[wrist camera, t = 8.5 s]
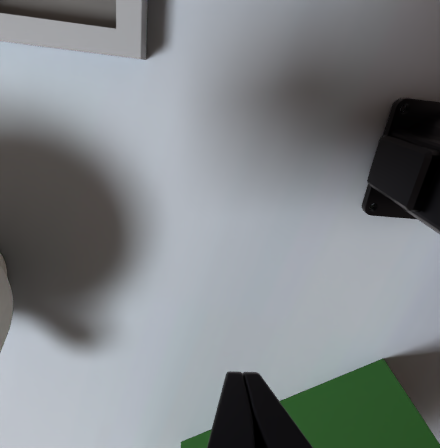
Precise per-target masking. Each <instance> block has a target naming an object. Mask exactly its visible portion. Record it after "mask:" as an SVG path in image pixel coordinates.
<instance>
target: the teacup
mask: <svg viewBox="0 0 440 448" xmlns="http://www.w3.org/2000/svg"><path fill="white" fill-rule="evenodd" d="M12 315H13V296H12V290H11V287H10V284H9V281H8V278H7V268H6V264H5V261H4V259H3V257H2V255H1V253H0V352H1V350H2V347H3V345H4V342H5V339H6V337H7V334H8V331H9V329H10V325H11V320H12Z"/></svg>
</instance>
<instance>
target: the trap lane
mask: <svg viewBox="0 0 440 448" xmlns="http://www.w3.org/2000/svg"><path fill="white" fill-rule="evenodd" d="M147 5H148V0H0V41H3V42H11V43H19V44H27V45H35V46H42V47H50V48H58V49H66V50H74V51H82V52H89V53H97V54H105V55H113V56H121V57H129V58H136V59H144V60H146V46H147Z"/></svg>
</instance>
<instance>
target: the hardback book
mask: <svg viewBox="0 0 440 448" xmlns="http://www.w3.org/2000/svg"><path fill="white" fill-rule="evenodd" d="M279 402H280V403H281V404H282V406H283V407H284V408H285V410H286V411H287V413H288V414H289V415H290V417H291V418H292V419H293V421H294V422H295V424H296V425H297V426H298V428H299V429H300V430H301V432H302V433H303V434H304V436H305V437H306V439H307V440H308V441H309V443H310V444H311V445H312V447H313V448H440V444H439V443H438V441H437V439H436V438H435V436H434V435H433V433H432V432H431V430H430V429H429V427H428V426H427V424H426V423H425V421H424V420H423V418H422V417H421V415H420V414H419V412H418V411H417V409H416V408H415V406H414V405H413V403H412V401H411V400H410V398H409V397H408V395H407V394H406V392H405V391H404V389H403V388H402V386H401V385H400V383H399V382H398V380H397V379H396V377H395V376H394V374H393V373H392V371H391V370H390V368H389V367H388V365H387V363H386V362H385V360H384V359H381V360H378V361H376V362H374V363H371V364H369V365H366V366H364V367H361V368H359V369H357V370H354V371H352V372H349V373H347V374H345V375H342V376H340V377H337V378H335V379H332V380H330V381H328V382H325V383H323V384H320V385H318V386H315V387H313V388H311V389H308V390H306V391H303V392H301V393H298V394H296V395H294V396H291V397H289V398H286V399H284V400H282V401H279ZM211 430H212V429H211ZM211 430H209V431H206V432H204V433H202V434H199V435H197V436H194V437H192V438H189V439H187V440H185V441H182V442H181V448H207V446H208V442H209V438H210V434H211Z"/></svg>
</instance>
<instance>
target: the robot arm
mask: <svg viewBox="0 0 440 448" xmlns="http://www.w3.org/2000/svg"><path fill="white" fill-rule="evenodd" d="M404 104H405V106H406V108H405V110H404V111H403V112H402V113H401V111H400V109H401V107H402V105H404ZM367 181H368V183H369V184H368V187H367V190H366V194H365V197H364V200H363V203H362V209H363V211H364V212H366V213H367V214H368V215H373V216H385V217H397V218H410V219H418V220H420V221H421V222H423V223H424V224H425V225H427V226H428V227H430V228H431V229H433V230H434V231H436V232H437V233H439V234H440V102H432V101H424V100H416V99H408V98H400V99H398V100H396V102H395V103H394V104H393V106H392V109H391V112H390V115H389V118H388V122H387V125H386V128H385V132H384V135H383V137H382V138H381V139H380V141H379V144H378V147H377V151H376V154H375V157H374V160H373V164H372V167H371V170H370V174H369V177H368V180H367ZM371 204H374V207H373V208H371V209H369V207H370V205H371ZM207 448H313V447H312V445H311V444H310V443H309V441H308V440H307V439H306V437H305V436H304V434H303V433H302V432H301V430H300V429H299V428H298V426H297V425H296V424H295V422H294V421H293V419H292V418H291V417H290V415H289V414H288V413H287V411H286V410H285V408H284V407H283V406H282V404H281V403H280V402H279V400H278V399H277V397H276V396H275V395H274V393H273V392H272V391H271V389H270V388H269V386H268V385H267V384H266V382H265V381H264V380H263V378H262V377H261V376H260V374H259V373H257V372H244V373H243V374H242V373H241V372H227V374H226V377H225V381H224V385H223V388H222V392H221V396H220V400H219V404H218V408H217V411H216V415H215V419H214V423H213V427H212V430H211V434H210V438H209V442H208V446H207Z"/></svg>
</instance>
